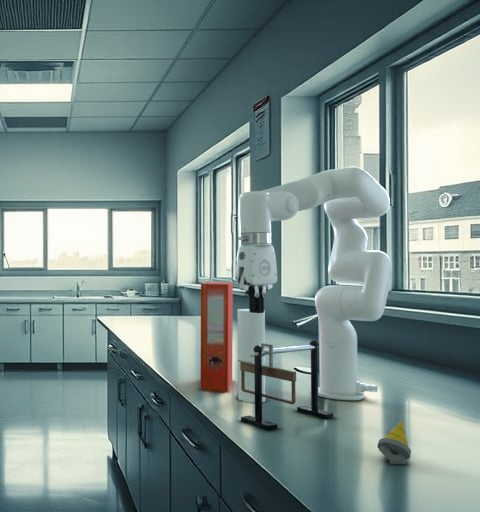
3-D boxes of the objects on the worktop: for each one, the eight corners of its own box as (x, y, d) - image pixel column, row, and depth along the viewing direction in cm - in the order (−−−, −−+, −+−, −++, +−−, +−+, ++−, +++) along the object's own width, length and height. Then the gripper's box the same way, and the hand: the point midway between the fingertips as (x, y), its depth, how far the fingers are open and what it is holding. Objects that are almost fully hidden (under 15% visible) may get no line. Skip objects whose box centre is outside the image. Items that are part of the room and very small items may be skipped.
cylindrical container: (267, 403, 149) (267, 311, 150) (240, 401, 151) (239, 310, 151) (262, 396, 156) (261, 309, 157) (236, 395, 158) (235, 308, 158)
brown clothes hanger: (243, 390, 137) (243, 340, 137) (296, 404, 124) (296, 348, 124) (240, 391, 137) (239, 340, 137) (293, 405, 123) (292, 348, 123)
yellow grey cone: (368, 460, 107) (382, 418, 112) (398, 475, 105) (410, 432, 110) (380, 451, 103) (393, 408, 107) (412, 467, 101) (423, 422, 105)
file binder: (233, 381, 177) (232, 282, 178) (228, 392, 161) (228, 284, 162) (207, 378, 180) (206, 282, 181) (200, 390, 165) (199, 283, 165)
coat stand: (304, 410, 142) (303, 337, 142) (333, 417, 135) (332, 341, 135) (240, 421, 132) (240, 343, 132) (268, 430, 124) (267, 348, 125)
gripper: (246, 240, 132) (247, 315, 132) (287, 239, 139) (289, 312, 139) (222, 241, 139) (223, 313, 139) (263, 240, 146) (264, 309, 146)
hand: (256, 312), depth 139 cm, fingers closed
